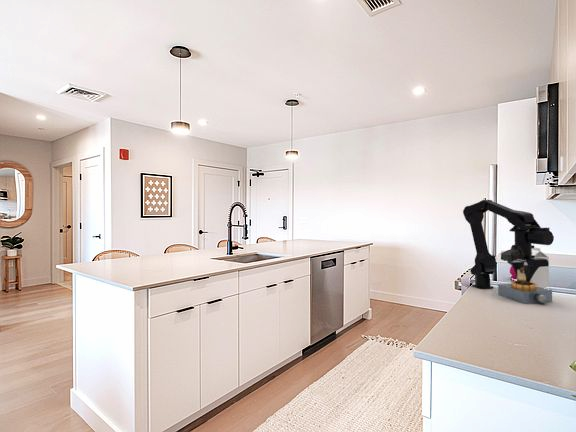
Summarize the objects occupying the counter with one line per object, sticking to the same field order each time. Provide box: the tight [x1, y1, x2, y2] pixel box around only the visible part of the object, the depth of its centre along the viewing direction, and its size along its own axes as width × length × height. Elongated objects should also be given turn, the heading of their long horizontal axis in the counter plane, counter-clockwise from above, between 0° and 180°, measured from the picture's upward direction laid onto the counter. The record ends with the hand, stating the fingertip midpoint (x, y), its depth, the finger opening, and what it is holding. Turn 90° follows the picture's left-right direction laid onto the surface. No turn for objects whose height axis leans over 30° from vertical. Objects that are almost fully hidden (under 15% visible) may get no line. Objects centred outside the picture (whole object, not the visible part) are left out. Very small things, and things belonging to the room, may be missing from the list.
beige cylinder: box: [517, 267, 530, 285], centre depth 136 cm, size 4×4×7 cm
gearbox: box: [497, 280, 553, 305], centre depth 135 cm, size 17×12×6 cm
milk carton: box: [524, 246, 550, 288], centre depth 150 cm, size 7×7×19 cm
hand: (523, 280), depth 136 cm, fingers closed on beige cylinder, 4 cm apart
